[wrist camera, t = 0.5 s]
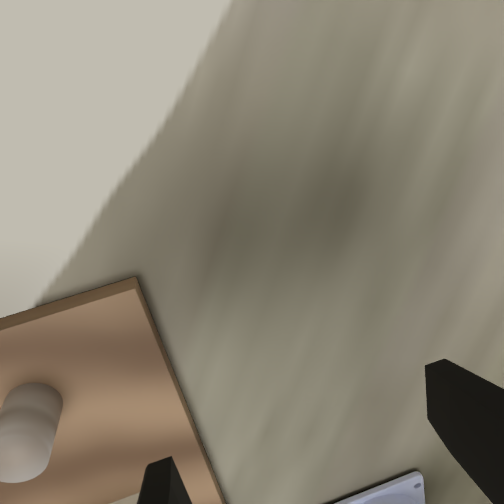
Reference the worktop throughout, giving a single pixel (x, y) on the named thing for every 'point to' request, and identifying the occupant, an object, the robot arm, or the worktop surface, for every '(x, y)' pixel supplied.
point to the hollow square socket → (128, 500)
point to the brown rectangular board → (92, 403)
